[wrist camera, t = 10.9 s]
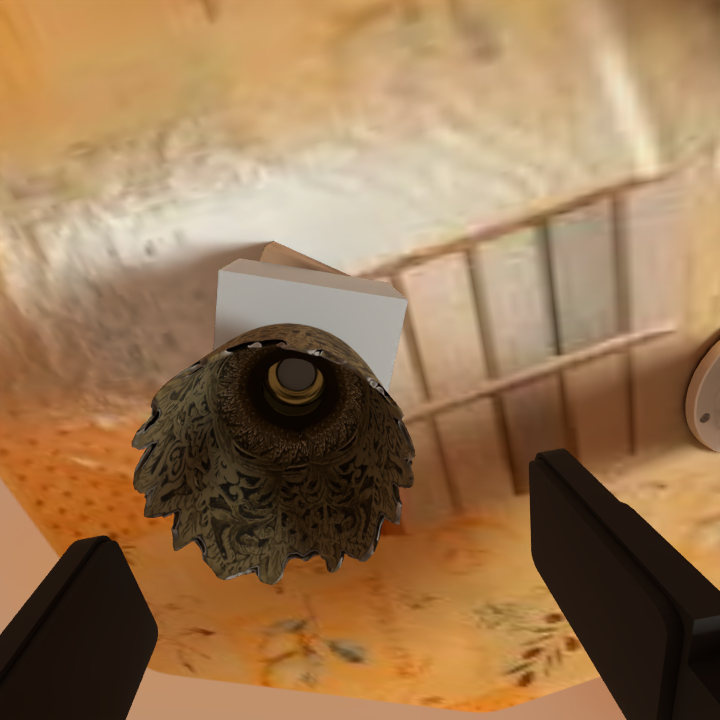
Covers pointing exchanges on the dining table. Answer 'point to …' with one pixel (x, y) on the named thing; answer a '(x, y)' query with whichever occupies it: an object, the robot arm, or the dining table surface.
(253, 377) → the olive textured cup shape
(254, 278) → the top block
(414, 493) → the dining table surface
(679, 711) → the robot arm
